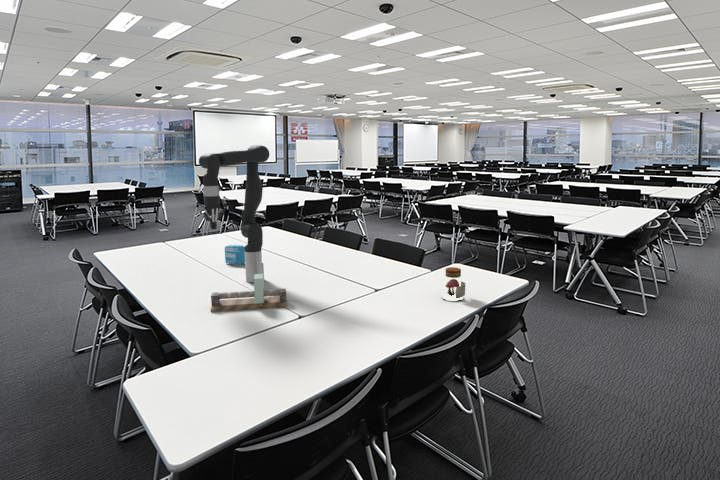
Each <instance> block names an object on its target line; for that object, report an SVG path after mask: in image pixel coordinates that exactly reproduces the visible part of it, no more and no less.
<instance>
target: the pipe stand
mask: <svg viewBox="0 0 720 480" xmlns="http://www.w3.org/2000/svg"><path fill="white" fill-rule="evenodd" d="M263 293H264V303H258V304H255V293H254V290H243V291H242V290H241V291H239V290H238V291H226V292H225V291H224V292H223V291H221V292H219V291H217V292H215V291H214V292H212V293H211V295H210V299H211V300H210V301H211V307H210V312H211V313H216V312H218V311H219V312H233V311H244V310H245V311H248V310H249V311H250V310H262V309H263V310H264V309H279V308H282V309H283V308H288V307H287V306H288V303H287V288H278V289H264V290H263Z"/></svg>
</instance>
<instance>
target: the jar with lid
mask: <svg viewBox="0 0 720 480" xmlns="http://www.w3.org/2000/svg"><path fill="white" fill-rule="evenodd" d="M445 277H447V278H451V279H449V281H447V282H446V284H445V287H446V288H447V289H448V290H447V292H446V294H449V295H451V296H452V295H454V294H456V298H460V297H464V296H465V295H466V282H464V281H461V282H460V283H459V281H458V280H457V279H458V278H461V277H462V269H461V268H459V267H455V266H454V267H447V268H445ZM454 288H456V289H455V290H454Z"/></svg>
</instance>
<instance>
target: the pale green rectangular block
mask: <svg viewBox="0 0 720 480" xmlns="http://www.w3.org/2000/svg"><path fill="white" fill-rule="evenodd" d="M264 280H265V279H263V274H255V275H254V282H253V291H254V293H255V297H254V298H255V304H258V303H264V297H265V296H264V293H263V290H265V284H264Z"/></svg>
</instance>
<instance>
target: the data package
mask: <svg viewBox="0 0 720 480" xmlns="http://www.w3.org/2000/svg"><path fill="white" fill-rule="evenodd" d="M244 247H245V245H241V244H239V245H238V244H228V245H226V246H225V247H224V261H225V264H227V263H229V264H228V265H234V264H241V265H244V264H245V251H244Z"/></svg>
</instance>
